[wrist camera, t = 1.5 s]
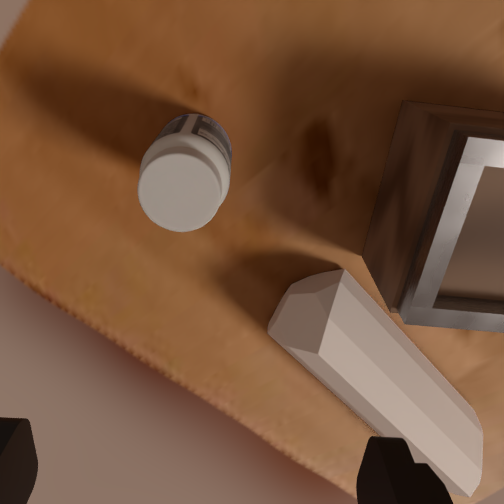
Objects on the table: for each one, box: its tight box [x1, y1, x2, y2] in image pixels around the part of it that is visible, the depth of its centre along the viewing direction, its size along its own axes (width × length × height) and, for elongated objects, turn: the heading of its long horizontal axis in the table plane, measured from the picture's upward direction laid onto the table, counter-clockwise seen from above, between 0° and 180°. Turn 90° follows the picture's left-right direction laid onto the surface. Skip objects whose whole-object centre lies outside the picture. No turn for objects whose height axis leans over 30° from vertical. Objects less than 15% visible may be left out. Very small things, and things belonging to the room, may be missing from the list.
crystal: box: [267, 269, 483, 497], centre depth 35 cm, size 7×7×24 cm
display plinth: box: [362, 100, 504, 333], centre depth 26 cm, size 11×11×8 cm
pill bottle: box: [138, 114, 232, 232], centre depth 24 cm, size 5×5×8 cm
